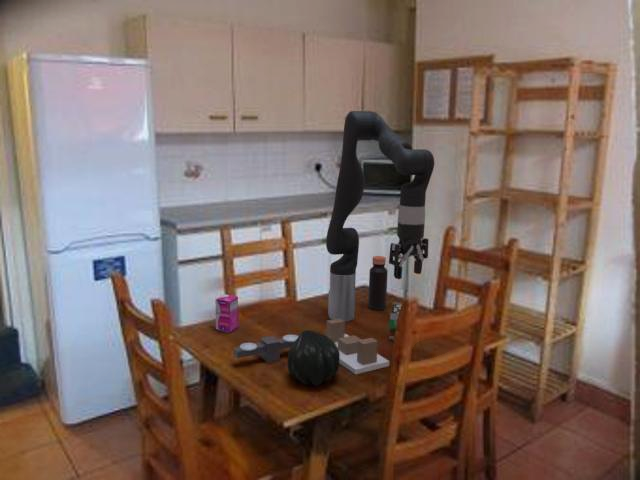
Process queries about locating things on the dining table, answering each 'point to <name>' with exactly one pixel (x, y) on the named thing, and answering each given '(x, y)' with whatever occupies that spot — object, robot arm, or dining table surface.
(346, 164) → the robot arm
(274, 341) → the grey white knobbed bar
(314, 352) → the squash
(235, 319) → the supplement box
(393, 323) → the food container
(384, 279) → the bottle
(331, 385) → the dining table surface
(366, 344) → the display stand
